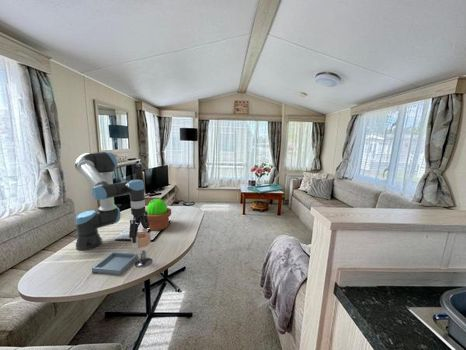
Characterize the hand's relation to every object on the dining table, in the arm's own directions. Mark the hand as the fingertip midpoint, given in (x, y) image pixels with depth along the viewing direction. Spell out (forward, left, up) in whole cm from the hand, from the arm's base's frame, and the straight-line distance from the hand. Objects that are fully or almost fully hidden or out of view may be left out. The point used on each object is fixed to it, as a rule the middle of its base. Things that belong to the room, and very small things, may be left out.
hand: (140, 242), depth 123 cm
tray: (+4, -14, -13) cm, 20 cm away
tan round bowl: (0, 0, -1) cm, 1 cm away
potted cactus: (-51, -16, -14) cm, 55 cm away
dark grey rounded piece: (0, +1, -13) cm, 13 cm away
